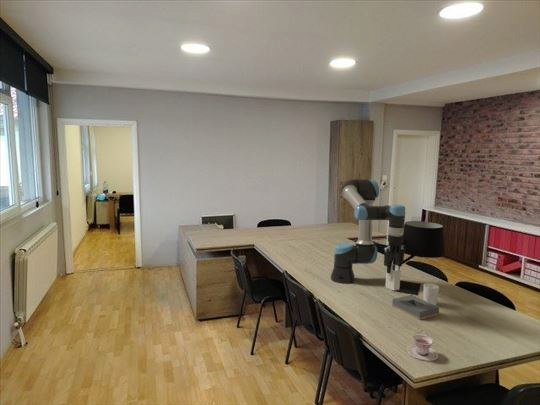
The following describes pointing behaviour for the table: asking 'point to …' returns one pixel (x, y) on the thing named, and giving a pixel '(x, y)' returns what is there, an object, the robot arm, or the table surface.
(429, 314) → the socket box
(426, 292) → the white cup
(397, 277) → the plug
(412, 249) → the table lamp
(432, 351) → the teacup
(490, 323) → the table surface
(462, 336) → the table surface
